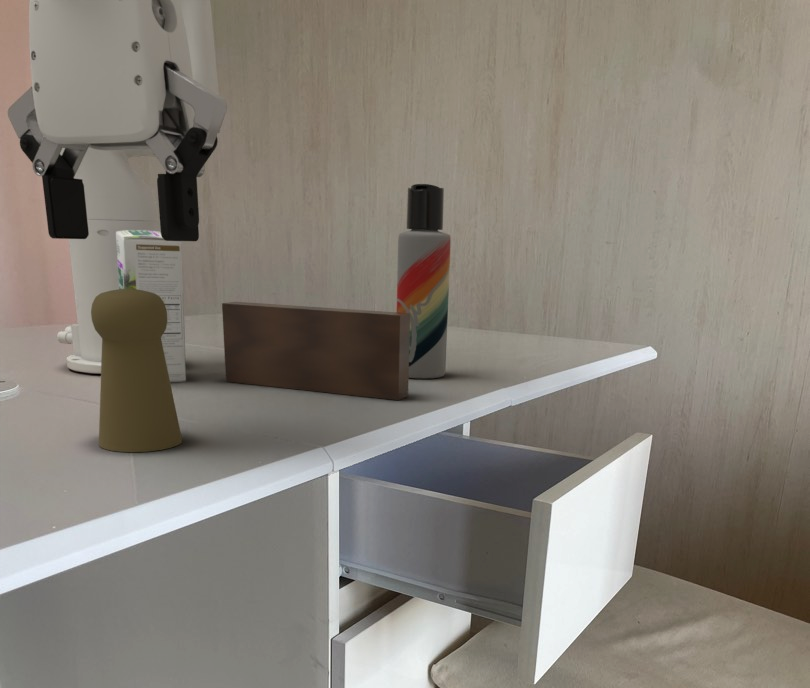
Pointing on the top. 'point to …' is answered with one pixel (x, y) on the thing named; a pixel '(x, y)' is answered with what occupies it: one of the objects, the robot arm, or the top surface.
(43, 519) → the top surface
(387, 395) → the brown wooden block
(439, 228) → the lotion bottle
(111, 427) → the cork
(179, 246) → the syrup box
